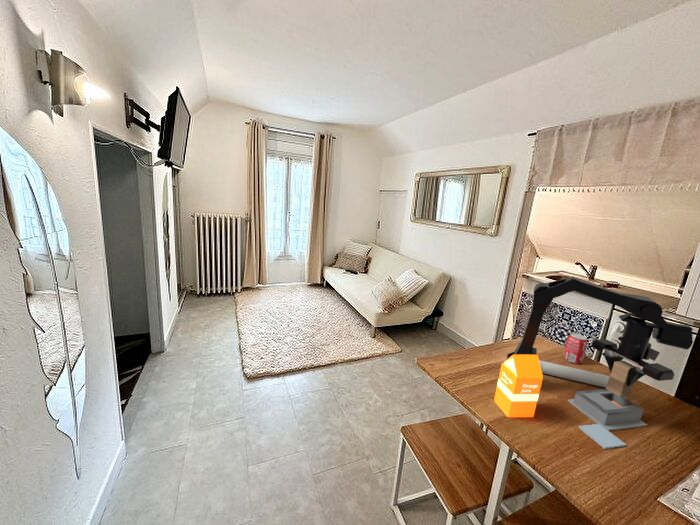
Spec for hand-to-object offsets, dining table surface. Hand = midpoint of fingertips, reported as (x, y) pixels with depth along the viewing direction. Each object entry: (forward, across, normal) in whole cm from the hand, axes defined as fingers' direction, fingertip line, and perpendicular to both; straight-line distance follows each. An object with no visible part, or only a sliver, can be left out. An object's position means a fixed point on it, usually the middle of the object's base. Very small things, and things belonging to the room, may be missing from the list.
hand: (621, 381), depth 88 cm
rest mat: (+13, -7, +13) cm, 19 cm away
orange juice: (+13, +7, +31) cm, 35 cm away
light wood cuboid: (+4, 0, 0) cm, 4 cm away
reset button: (+13, +1, -2) cm, 13 cm away
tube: (+13, +18, -6) cm, 24 cm away
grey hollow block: (+13, +1, 0) cm, 13 cm away
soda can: (+13, +30, -20) cm, 38 cm away
